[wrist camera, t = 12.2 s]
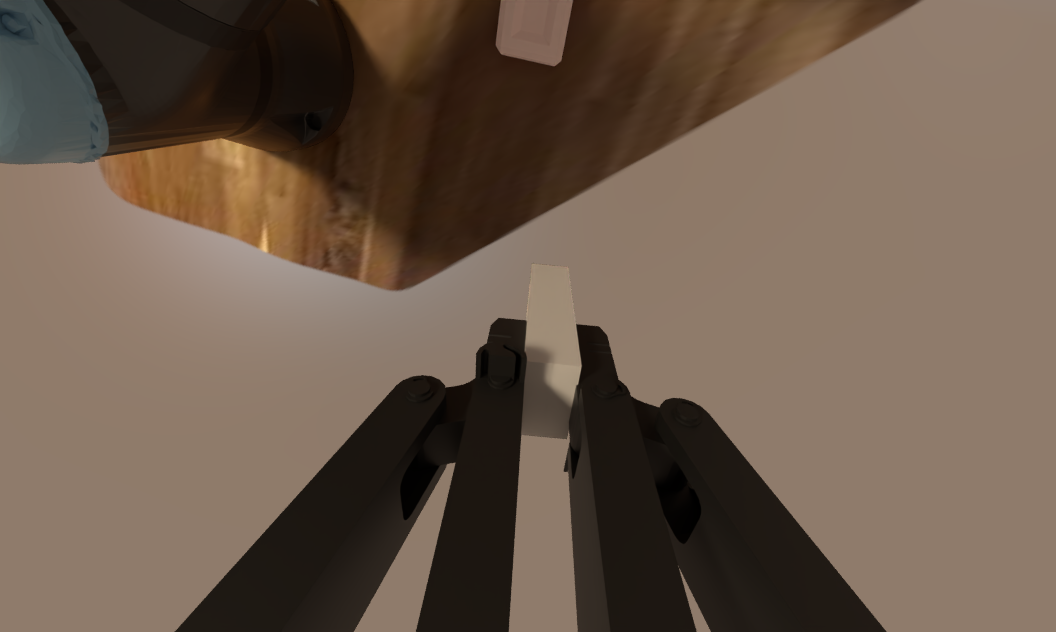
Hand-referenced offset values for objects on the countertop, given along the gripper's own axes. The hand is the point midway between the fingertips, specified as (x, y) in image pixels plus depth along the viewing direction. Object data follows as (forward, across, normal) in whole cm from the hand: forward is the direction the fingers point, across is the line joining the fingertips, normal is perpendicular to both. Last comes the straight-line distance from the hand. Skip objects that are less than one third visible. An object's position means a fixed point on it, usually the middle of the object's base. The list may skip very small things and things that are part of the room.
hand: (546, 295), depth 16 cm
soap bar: (+25, -2, +14) cm, 29 cm away
